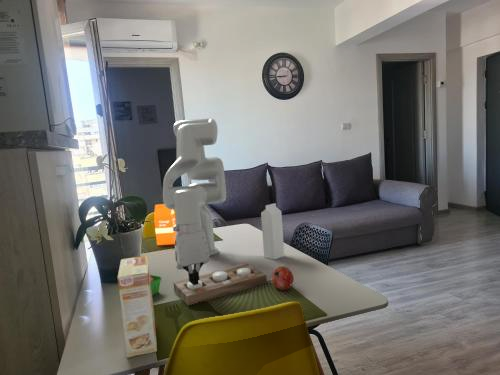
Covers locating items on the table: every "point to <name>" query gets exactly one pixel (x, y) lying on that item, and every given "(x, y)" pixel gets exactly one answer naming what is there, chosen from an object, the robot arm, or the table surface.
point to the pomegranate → (282, 278)
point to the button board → (219, 285)
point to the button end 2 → (243, 271)
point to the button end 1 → (191, 286)
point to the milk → (272, 232)
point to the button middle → (219, 276)
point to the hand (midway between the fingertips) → (194, 283)
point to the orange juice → (164, 225)
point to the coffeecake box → (137, 306)
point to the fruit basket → (155, 283)
